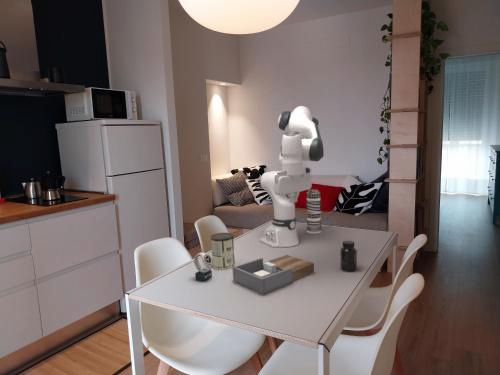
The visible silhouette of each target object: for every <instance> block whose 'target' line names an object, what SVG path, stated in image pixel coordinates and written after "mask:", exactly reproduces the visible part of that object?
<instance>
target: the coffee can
mask: <svg viewBox="0 0 500 375" xmlns="http://www.w3.org/2000/svg"><path fill="white" fill-rule="evenodd" d="M210 242H211V243H210V244H211V257H212V260H213V262H212V268H213V269H215V270H228V269H233V267H235V265H236V264H235V262H236V261H235V247H234V245H235V244H234V234H233V233H231V232H218V233H214V234H212V235H210Z"/></svg>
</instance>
